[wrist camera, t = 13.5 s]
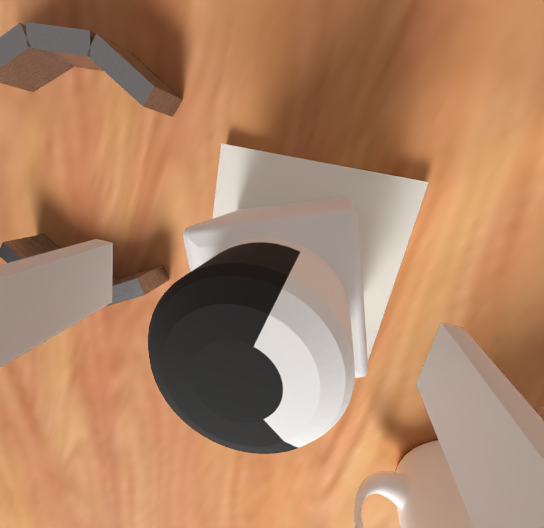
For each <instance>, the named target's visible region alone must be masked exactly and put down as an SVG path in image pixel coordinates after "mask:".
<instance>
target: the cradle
mask: <svg viewBox="0 0 544 528" xmlns="http://www.w3.org/2000/svg"><path fill="white" fill-rule="evenodd" d="M74 66H76V67H83V68H89V69H95V70H102V71H105V72H106V73H107V74H108V75H109V76H110V77H111V78H113V79H114V80H115V81H116V82H117V83H118V84H119V85H120V86H121V87H122V88H124V89H125V90H126V91H127V92H128V93H129V94H130V95H131V96H132V97H134V98H135V99H136V100H137V101H138V102H139V103H140V104H141V105H142V106H144V107H147V108H149V109H152V110H155V111H158V112H161V113H164V114H167V115H169V116H173V115H174V113H175V111H176V110H177V108H178V106H179V105H180V103H181V101H182V99H181V98H180V97H179V96H178V95H177V94H175V93H174V92H173V91H172V90H171V89H170V88H169V87H168V86H167V85H166V84H165V83H163V82H162V81H161V80H160V79H159V78H158V77H157V76H156V75H155V74H154V73H152V72H151V71H150V70H149V69H148V68H147V67H146V66H145V65H144V64H143V63H141V62H140V61H139V60H138V59H137V58H136V57H135V56H134V55H132V54H131V53H129V52H127V51H125V50H124V49H122V48H120V47H119V46H117V45H115V44H113V43H112V42H110V41H108V40H107V39H105V38H103V37H101V36H100V35H98V34H95V33H94V32H92V31H90V30H84V29H76V28H69V27H62V26H55V25H47V24H40V23H33V22H26V26H25V25H23V24H21V23H19V24H18V25H16V26H15V27H14V28H12V29H11V30H10V31H8V32H7V33H6V34H4V35H3V36H1V37H0V83H2V84H6V85H10V86H13V87H17V88H21V89H24V90H28V91H32V92H34V91H35V90H37V89H38V88H40V87H42V86H43V85H45V84H47V83H48V82H50V81H51V80H53V79H55V78H56V77H58V76H59V75H61V74H63V73H64V72H66V71H68V70H69V69H71V68H72V67H74ZM57 249H59V248H58V247H57V246H56V245H55V244H54V243H52V242H51V241H50V240H49V239H48V238H47V237H46V236H44V235H43V234H41V235H36V236H31V237H26V238H21V239H16V240H11V241H6V242H3V243H2V245H1V248H0V257H1V258H3V259H4V260H5V261H6V262H7V263H10V262H14V261H17V260H21V259H24V258H28V257H32V256H35V255H39V254H43V253H46V252H50V251H54V250H57ZM168 280H169V279H168V276H167V274H166V272H165V269H164V267H163V265H162V266H158V267H155V268H152V269H149V270H146V271H143V272H140V273H137V274H133V275H130V276H127V277H124V278H120V277H116V276H112V303H110V304H108V305H106V306H109V305H112V304H115V303H119V302H122V301H126V300H129V299H133V298H136V297H139V296H143V295H145V294H147V293H149V292H150V291H152V290H154V289H155V288H157V287H158V286H160V285H162V284H163V283H165V282H166V281H168Z"/></svg>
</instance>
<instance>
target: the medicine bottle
mask: <svg viewBox="0 0 544 528" xmlns="http://www.w3.org/2000/svg"><path fill="white" fill-rule="evenodd" d="M183 240H184V244H185V249H186V253H187V258H188V262H189V267H190V271H191V272H190V273H188V274H187V275H185V276H184V277H182V278H181V279H180V280H178V281H177V282H176V283H174V284H173V285H172V286H171V287H170V288H169V289H168V290H167V291H166V292H165V293H164V295H163V296H162V298H161V299H160V301H159V302H158V304H157V306H156V308H155V310H154V312H153V315H152V318H151V322H150V325H149V333H148V351H149V358H150V364H151V369H152V372H153V375H154V379H155V381H156V383H157V386H158V388H159V390H160V392H161V393H162V395H163V397H164V398H165V400H166V402H167V403H168V404H169V405H170V407H171V408H172V409H173V411H174V412H175V413H176V414H177V415H178V416H179V417H180V418H181V419H182V420H183V421H184V422H185V423H186V424H188V425H189V426H190V427H191V428H192V429H194V430H195V431H197V432H198V433H200V434H201V435H203V436H204V437H206V438H208V439H210V440H212V441H213V442H216V443H218V444H220V445H223V446H225V447H228V448H232V449H235V450H238V451H243V452H249V453H259V454H270V453H280V452H286V451H290V450H293V449H296V448H299V447H302V446H304V445H306V444H308V443H310V442H312V441H314V440H316V439H317V438H319V437H320V436H322V435H323V434H325V433H326V432H327V431H329V430H330V429H331V428H332V427H333V426H334V425H335V424H336V423H337V422H338V420H339V419H340V418H341V416H342V415H343V414H344V412H345V410H346V408H347V406H348V404H349V402H350V399H351V395H352V392H353V388H354V380H355V377H364V376H365V375H366V374H367V371H368V357H367V341H366V326H365V311H364V295H363V280H362V264H361V249H360V233H359V218H358V214H357V212H356V210H355V208H354V205H353V203H352V201H351V199H350V198H349V197H345V196H343V197H335V198H327V199H320V200H312V201H304V202H296V203H288V204H280V205H273V206H265V207H257V208H249V209H241V210H237V211H234V212H231V213H228V214H225V215H222V216H219V217H216V218H213V219H211V220H208V221H205V222H202V223H199V224H196V225H193V226H190V227H188V228H186V229H185V231H184V232H183Z"/></svg>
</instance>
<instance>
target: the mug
mask: <svg viewBox="0 0 544 528" xmlns="http://www.w3.org/2000/svg"><path fill="white" fill-rule="evenodd" d="M373 493H378V494H381V495H383V496H385V497H387V498H388V499H390V500H391V501H392V502H394V503H395V504H396V505H397V511H398V517H399V522H400V528H474V527H473V524H472V522H471V519H470V517H469V514H468V512H467V509H466V507H465V504H464V502H463V500H462V497H461V495H460V492H459V490H458V487H457V485H456V482H455V480H454V477H453V475H452V472H451V470H450V467H449V465H448V462H447V460H446V457H445V455H444V452H443V450H442V448H441V445H440V443H439V440H437V441H431V442H428V443H425V444H422V445H420V446H418V447H416V448H414V449H413V450H411V451H410V452H409V453H407V454H406V455H405V456H404V457H403V458H402V460H401V461H400V463H399V465H398V467H397V469H396V472H393V471H381V472H376V473H373V474H371V475H370V476H368V477H367V478H366V479H365V480H364V481H363V482H362V484H361V485H360V487H359V489H358V492H357V495H356V500H355V509H354V522H355V528H363V524H362V519H361V509H362V504H363V502H364V500H365V499H366V497H367V496H369V495H370V494H373Z"/></svg>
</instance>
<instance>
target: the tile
mask: <svg viewBox="0 0 544 528" xmlns="http://www.w3.org/2000/svg"><path fill="white" fill-rule="evenodd" d="M428 183H429V182H425V181H420V180H414V179H409V178H404V177H398V176H393V175H388V174H382V173H377V172H372V171H366V170H361V169H355V168H350V167H345V166H339V165H334V164H329V163H323V162H318V161H313V160H307V159H302V158H297V157H291V156H286V155H280V154H275V153H270V152H264V151H259V150H254V149H248V148H243V147H238V146H232V145H227V144H222V143H221V151H220V160H219V168H218V177H217V185H216V194H215V202H214V211H213V218H216V217H219V216H222V215H225V214H228V213H231V212H234V211H237V210H241V209H249V208H257V207H265V206H273V205H280V204H288V203H296V202H304V201H312V200H320V199H327V198H335V197H343V196H345V197H349V198H350V199H351V201H352V203H353V205H354V208H355V210H356V212H357V214H358V218H359V233H360V249H361V264H362V280H363V295H364V311H365V326H366V341H367V357H368V359H369V356H370V353H371V350H372V347H373V344H374V342H375V339H376V336H377V333H378V330H379V327H380V324H381V321H382V318H383V315H384V312H385V309H386V306H387V303H388V300H389V297H390V294H391V292H392V289H393V286H394V283H395V280H396V277H397V274H398V271H399V268H400V265H401V262H402V259H403V256H404V253H405V250H406V247H407V244H408V241H409V239H410V236H411V233H412V230H413V227H414V224H415V221H416V218H417V215H418V212H419V209H420V206H421V203H422V200H423V197H424V194H425V191H426V189H427V186H428Z"/></svg>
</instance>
